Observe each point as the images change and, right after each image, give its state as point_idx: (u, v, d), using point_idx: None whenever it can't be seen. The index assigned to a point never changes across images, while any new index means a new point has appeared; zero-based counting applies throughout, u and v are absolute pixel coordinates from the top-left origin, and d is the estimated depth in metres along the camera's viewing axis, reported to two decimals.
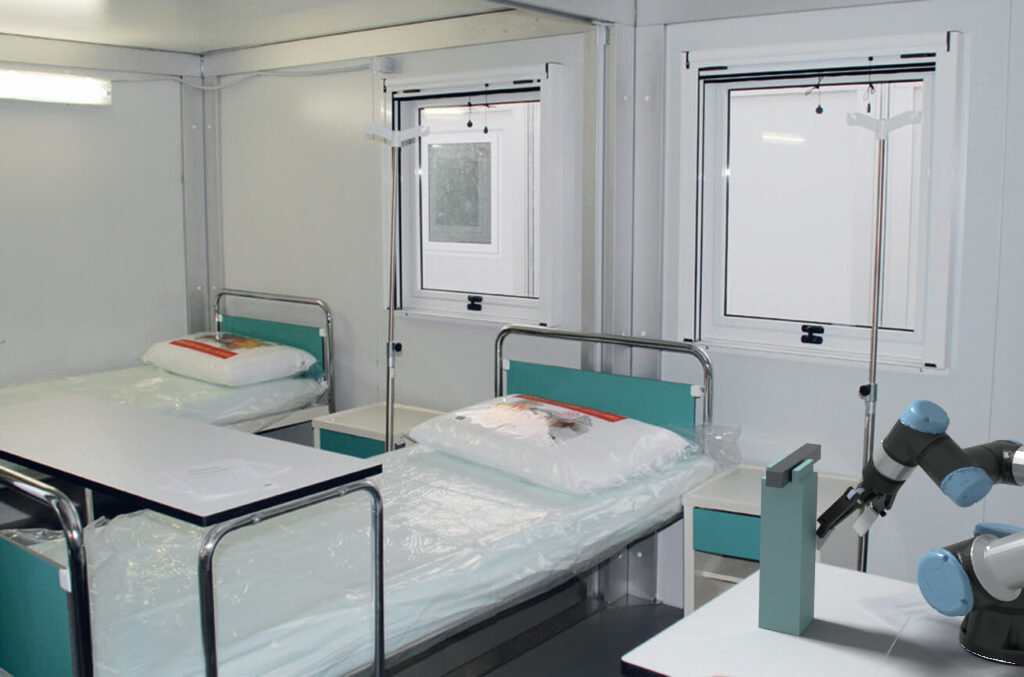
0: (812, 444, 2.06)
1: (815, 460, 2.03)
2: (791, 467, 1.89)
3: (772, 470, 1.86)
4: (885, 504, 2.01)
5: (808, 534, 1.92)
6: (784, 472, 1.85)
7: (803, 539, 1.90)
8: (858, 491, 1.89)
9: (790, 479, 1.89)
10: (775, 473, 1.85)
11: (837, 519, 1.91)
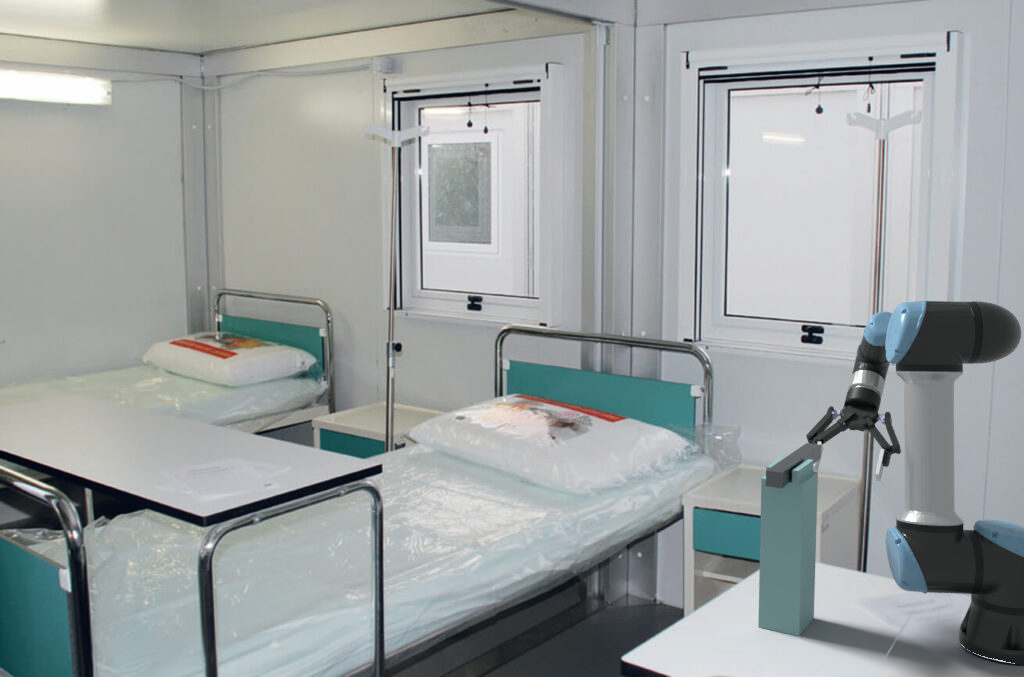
0: (812, 444, 2.06)
1: (815, 460, 2.03)
2: (791, 467, 1.89)
3: (772, 470, 1.86)
4: None
5: (808, 534, 1.92)
6: (784, 472, 1.85)
7: (803, 539, 1.90)
8: None
9: (790, 479, 1.89)
10: (775, 473, 1.85)
11: (817, 429, 2.26)
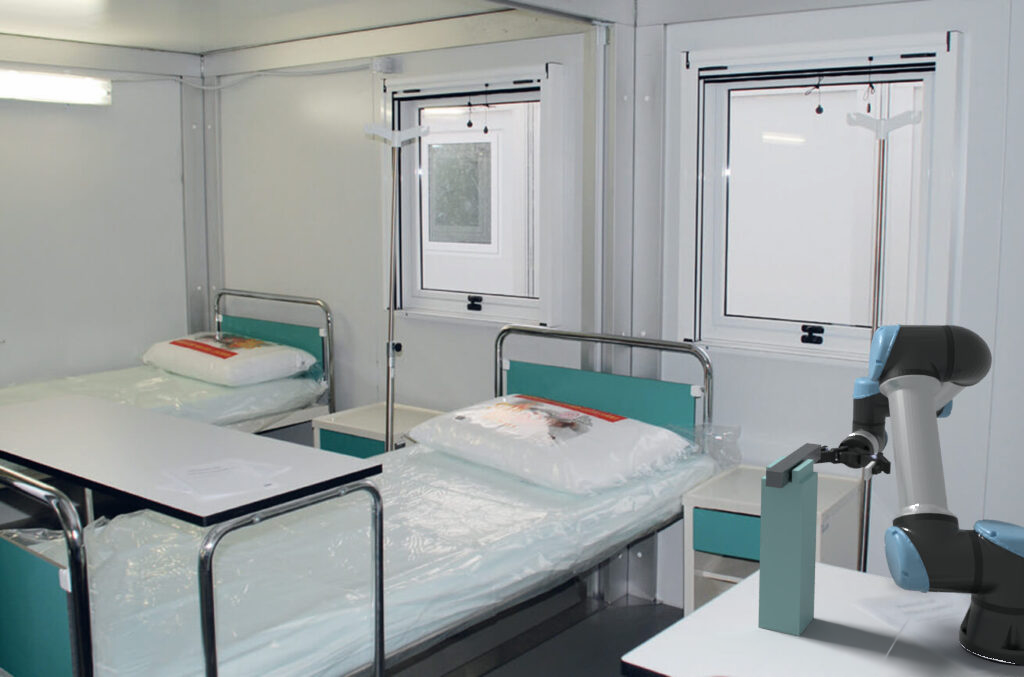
0: (812, 444, 2.06)
1: (815, 460, 2.03)
2: (791, 467, 1.89)
3: (772, 470, 1.86)
4: None
5: (808, 534, 1.92)
6: (784, 472, 1.85)
7: (803, 539, 1.90)
8: None
9: (790, 479, 1.89)
10: (775, 473, 1.85)
11: None
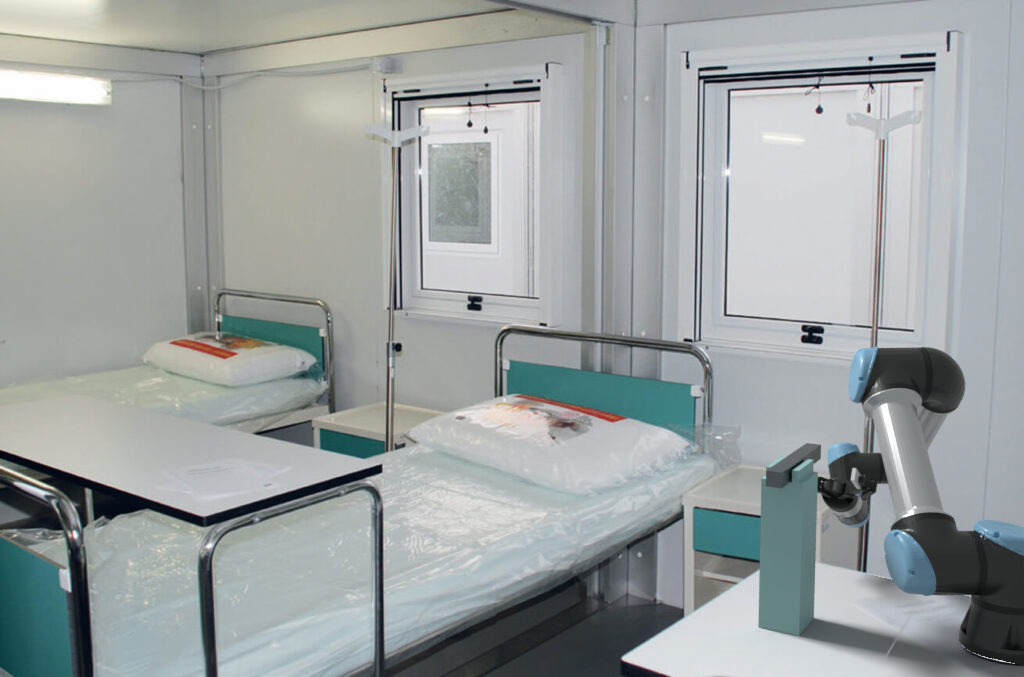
0: (812, 444, 2.06)
1: (815, 460, 2.03)
2: (791, 467, 1.89)
3: (772, 470, 1.86)
4: None
5: (808, 534, 1.92)
6: (784, 472, 1.85)
7: (803, 539, 1.90)
8: None
9: (790, 479, 1.89)
10: (775, 473, 1.85)
11: None
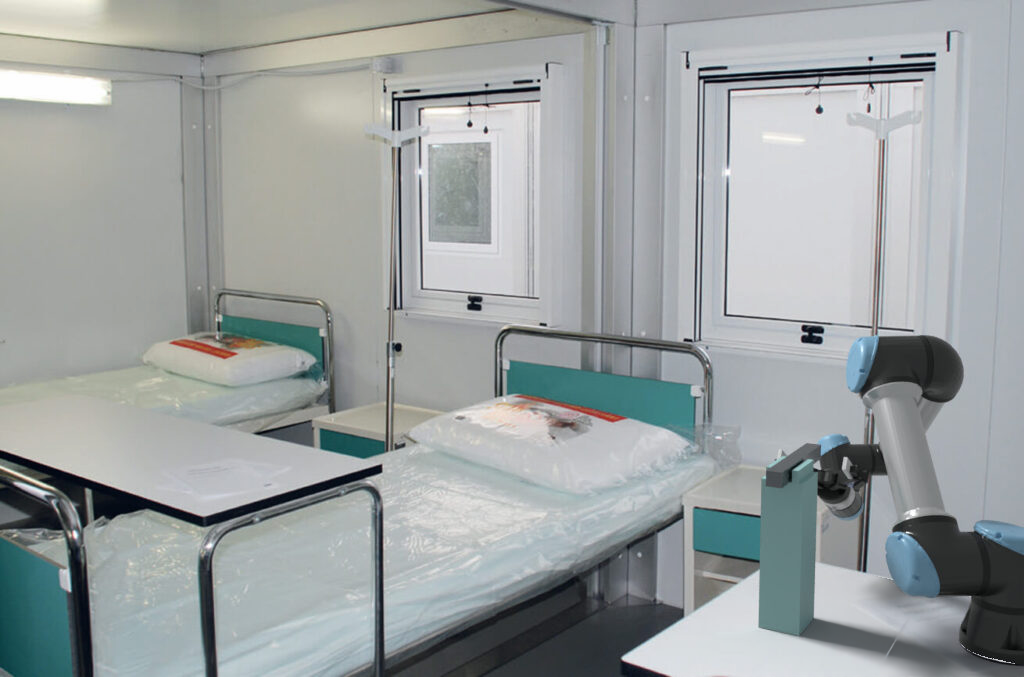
0: (812, 444, 2.06)
1: (815, 460, 2.03)
2: (791, 467, 1.89)
3: (772, 470, 1.86)
4: None
5: (808, 534, 1.92)
6: (784, 472, 1.85)
7: (803, 539, 1.90)
8: None
9: (790, 479, 1.89)
10: (775, 473, 1.85)
11: None
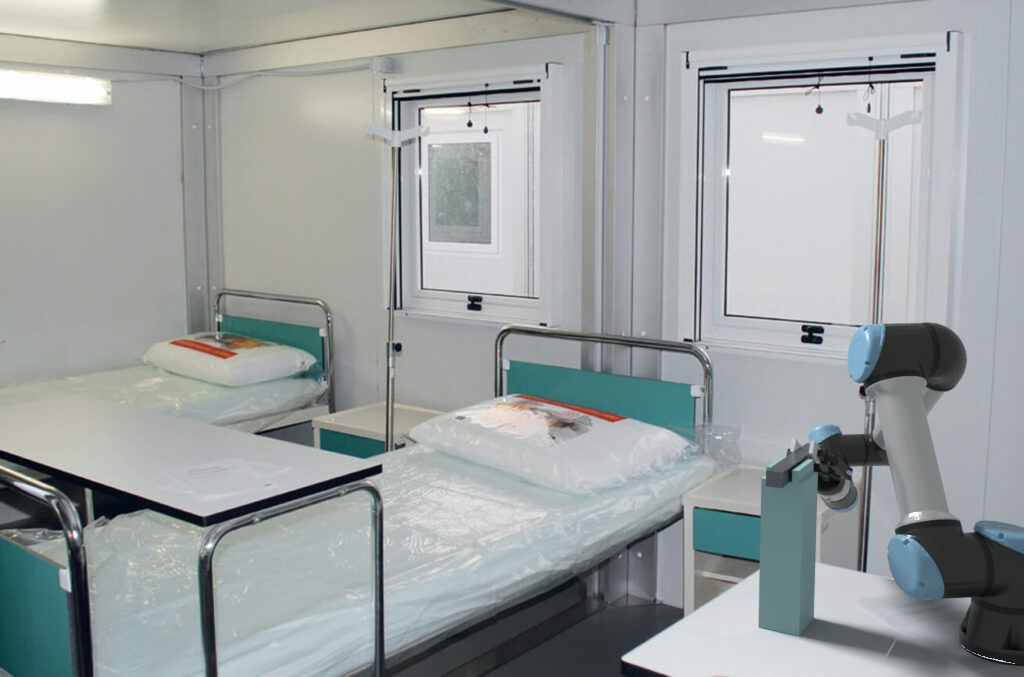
0: None
1: None
2: (791, 467, 1.89)
3: (772, 470, 1.86)
4: None
5: (808, 534, 1.92)
6: (784, 472, 1.85)
7: (803, 539, 1.90)
8: None
9: (790, 479, 1.89)
10: (775, 473, 1.85)
11: None
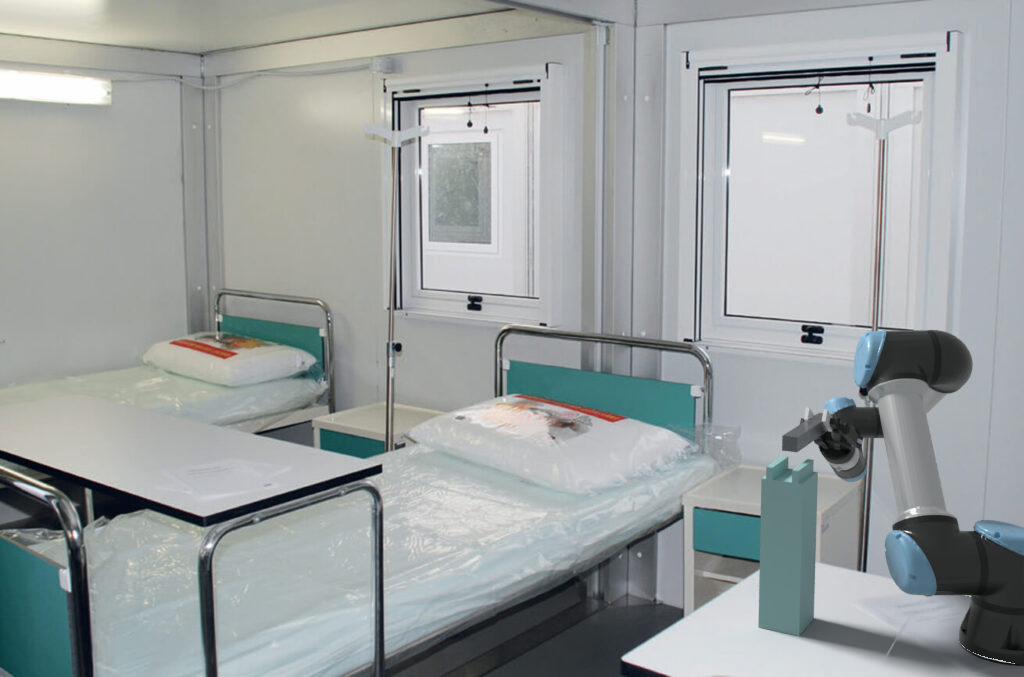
0: None
1: None
2: (806, 433, 1.98)
3: (788, 435, 1.95)
4: None
5: (808, 534, 1.92)
6: (799, 437, 1.95)
7: (803, 539, 1.90)
8: None
9: (805, 444, 1.98)
10: (791, 438, 1.94)
11: None
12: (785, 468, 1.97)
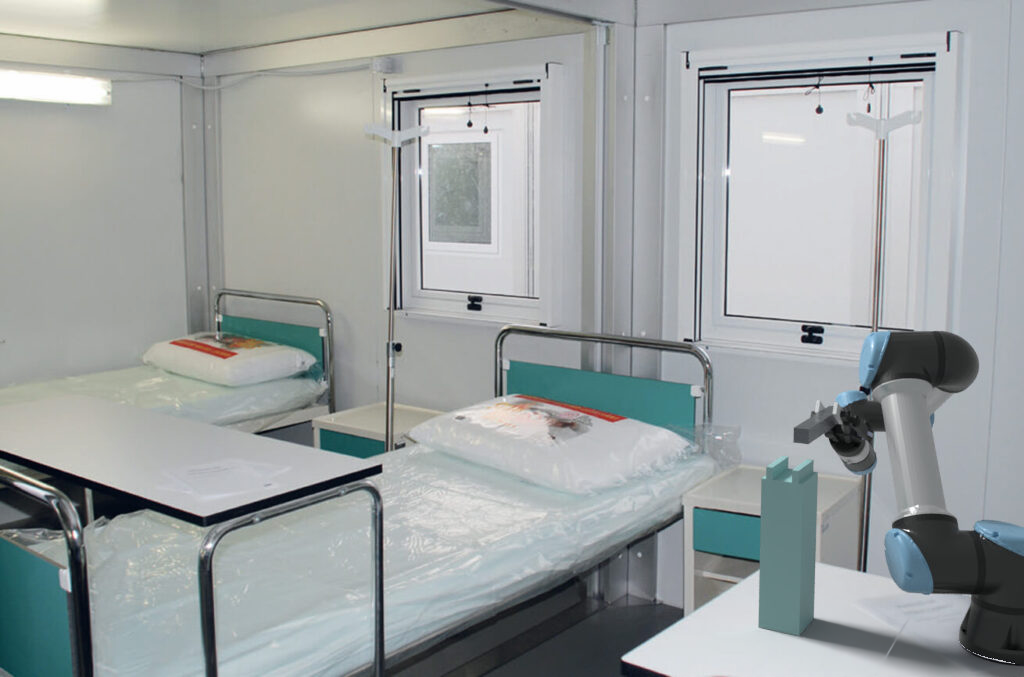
0: None
1: None
2: (817, 425, 2.00)
3: (799, 427, 1.97)
4: None
5: (808, 534, 1.92)
6: (811, 429, 1.97)
7: (803, 539, 1.90)
8: None
9: (816, 436, 2.00)
10: (802, 430, 1.96)
11: None
12: (785, 468, 1.97)
